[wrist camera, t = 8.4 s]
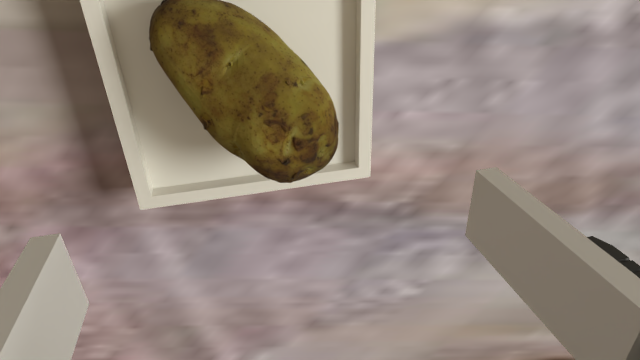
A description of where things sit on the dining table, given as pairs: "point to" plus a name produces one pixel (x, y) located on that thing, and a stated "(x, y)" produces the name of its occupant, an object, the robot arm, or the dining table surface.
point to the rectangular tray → (186, 129)
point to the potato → (246, 87)
